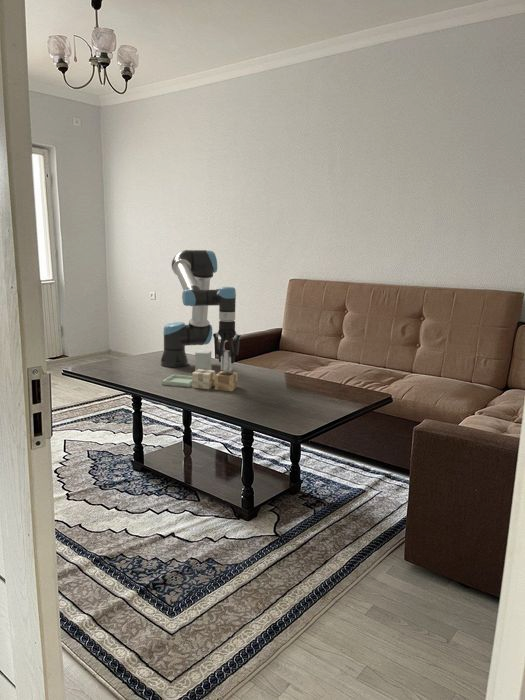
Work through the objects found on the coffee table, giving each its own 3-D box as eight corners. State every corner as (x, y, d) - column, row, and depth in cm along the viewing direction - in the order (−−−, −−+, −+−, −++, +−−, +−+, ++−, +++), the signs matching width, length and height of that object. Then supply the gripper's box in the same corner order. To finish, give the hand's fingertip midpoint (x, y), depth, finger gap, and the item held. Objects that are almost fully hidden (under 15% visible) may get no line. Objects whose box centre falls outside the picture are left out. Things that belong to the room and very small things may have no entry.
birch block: (198, 383, 266) (198, 369, 265) (214, 384, 264) (214, 370, 263) (192, 387, 258) (192, 373, 257) (208, 389, 256) (208, 374, 255)
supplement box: (211, 374, 285) (211, 350, 283) (209, 377, 278) (209, 353, 275) (198, 373, 286) (198, 349, 283) (194, 376, 279) (194, 352, 276)
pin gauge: (223, 382, 260) (224, 350, 257) (230, 383, 259) (231, 350, 256) (221, 384, 257) (222, 351, 253) (228, 385, 256) (229, 351, 253)
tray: (173, 378, 274) (173, 374, 274) (198, 380, 271) (198, 376, 270) (161, 384, 261) (161, 380, 261) (188, 387, 258) (188, 383, 258)
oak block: (220, 385, 263) (220, 371, 262) (237, 386, 261) (237, 372, 260) (214, 389, 255) (215, 375, 254) (232, 391, 253) (232, 376, 252)
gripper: (207, 320, 250) (207, 369, 255) (241, 322, 246) (241, 372, 251) (213, 318, 258) (212, 366, 262) (246, 320, 254) (245, 369, 258)
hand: (226, 369), depth 257 cm, fingers closed on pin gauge, 3 cm apart
